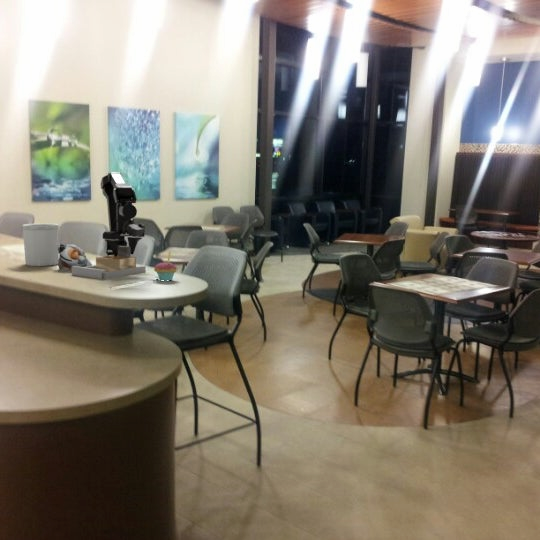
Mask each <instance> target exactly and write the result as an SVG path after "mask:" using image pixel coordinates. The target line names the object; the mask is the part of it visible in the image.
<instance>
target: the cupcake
mask: <svg viewBox="0 0 540 540" xmlns="http://www.w3.org/2000/svg"><path fill="white" fill-rule="evenodd" d="M170 258H171V250H169V252H168V256H167V261H165V262H159V263H157V264H156V265H155V267H154V268H153V269H154V272H156V273H157V276H158V279H159V281H160V280H164V281H163V282H168V281H167V280H172V281H173V278H174V275H175V273H176V272H177V270H178V267H177V266H176V265H175V264H174V263H172V262H171V261H170V260H171V259H170Z"/></svg>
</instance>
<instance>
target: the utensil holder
mask: <svg viewBox="0 0 540 540" xmlns="http://www.w3.org/2000/svg"><path fill="white" fill-rule="evenodd" d="M21 225H22V229H23V244H24V245H23V247H24V248H23V249H24V260H25V261H24V262H25V265H26V266H29V265H30V266H31V267H45V266H46V267H48V266H55V265H56V266H57V265H58V260H59V252H58V244H59V228H60V227H59V224H58V223H26V224H25V223H24V224H21Z"/></svg>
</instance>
